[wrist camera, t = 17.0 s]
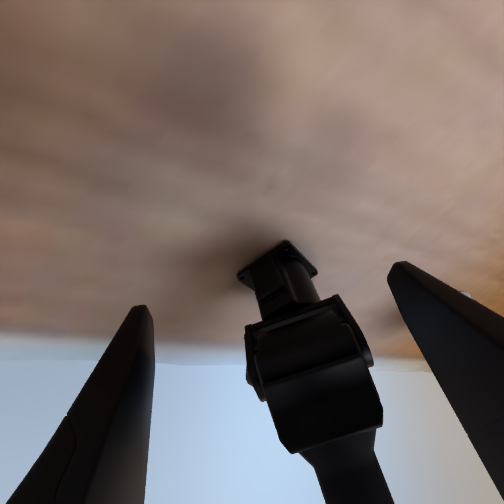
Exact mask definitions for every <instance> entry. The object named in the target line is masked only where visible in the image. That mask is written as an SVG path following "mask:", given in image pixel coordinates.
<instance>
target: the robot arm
mask: <svg viewBox="0 0 504 504" xmlns="http://www.w3.org/2000/svg"><path fill="white" fill-rule="evenodd" d="M286 246H288V247H286ZM317 274H318V272H317V270H316V268H315V267H314V266H313V265H312V264H311V263H310V262H309V261H308V260H307V259H306V258H305V257H304V256H303V255H302V254H301V253H300V252H299V251H298V250H297V249H296V248H295V247H294V246H293V245H292V244H291V243H290V242H289V241H286V242H283V243H282V244H280V245H279V246H277V247H276V248H275V249H273V250H272V251H270V252H269V253H267V254H266V255H264V256H263V257H261V258H260V259H258V260H257V261H255V262H254V263H252V264H251V265H249V266H248V267H246V268H245V269H243V270H242V271H240V272H239V273H238V274H237V278H238V280H239V281H240V282H242V283H243V284H245V285H246V286H248V287H249V288H251V289H252V290H253V291H255V295H256V299H257V302H258V306H259V310H260V314H261V317H262V321H261V322H258V323H255V324H252V325H251V324H249V325H246V326H245V334H244V339H245V350H246V361H247V366H246V380H247V383H248V384H249V385H251V386H253V387H254V390H255V391H256V393H257V395H258V398H259V399H260V401H262V402H264V401H267V404H268V407H269V410H270V413H271V416H272V419H273V422H274V425H275V428H276V430H277V433H278V437H279V440H280V442H281V443H282V444H283V445H284V447H285V448H286V449H287V450H288V451H289V453H291V454H294V453H299V454H300V455H301V456H302V457H303V458H304V459H305V460H306V461H308V462H309V463H310V464H311V465H312V466H313V468H314V469H315V472H316V475H317V478H318V481H319V484H320V487H321V490H322V493H323V496H324V499H325V503H326V504H394V501H393V499H392V497H391V493H390V491H389V488H388V486H387V483H386V481H385V478H384V475H383V473H382V470H381V468H380V465H379V463H378V460H377V458H376V455H375V452H374V441H375V435H376V428H379V427H382V425H383V407H382V404H381V402H380V398H379V395H378V392H377V390H376V387H375V385H374V382H373V380H372V377H371V374H370V372H369V369H368V368H369V367H372V366H373V365H374V362H373V358H372V354H371V351H370V349H369V346H368V344H367V341H366V339H365V337H364V335H363V333H362V331H361V329H360V327H359V326H358V324H357V323H356V321H355V319H354V318H353V316H352V315H351V313H350V312H349V310H348V309H347V307H346V306H345V304H344V303H343V301H342V299H341V298H340V296H339V295H338V294H336V295H333V296H332V297H330V298H327V299H324V300H322V301H321V300H320V298H319V296H318V294H317V291H316V289H315V287H314V285H313V283H312V280H311V278H312V277H314V276H316V275H317ZM387 282H388V285H389V287H390V289H391V292H392V294H393V296H394V299H395V301H396V304H397V306H398V308H399V311H400V313H401V315H402V317H403V319H404V321H405V323H406V325H407V327H408V329H409V330H410V332H411V334H412V336H413V338H414V339H415V341H416V343H417V345H418V347H419V348H420V350H421V352H422V354H423V356H424V357H425V359H426V361H427V363H428V365H429V367H430V368H431V370H432V372H433V374H434V376H435V377H436V379H437V381H438V383H439V384H440V386H441V388H442V390H443V392H444V394H445V395H446V397H447V399H448V401H449V403H450V404H451V406H452V408H453V410H454V411H455V413H456V415H457V417H458V419H459V421H460V422H461V424H462V426H463V428H464V430H465V431H466V433H467V434H468V437H469V439H470V441H471V443H472V444H473V446H474V448H475V450H476V451H477V453H478V455H479V457H480V459H481V461H482V462H483V464H484V466H485V468H486V470H487V471H488V473H489V475H490V477H491V479H492V480H493V482H494V484H495V486H496V488H497V489H498V491H499V493H500V495H501V497H502V499H503V500H504V317H502V316H500V315H499V314H497V313H495V312H494V311H492V310H490V309H488V308H487V307H485V306H483V305H481V304H480V303H478V302H476V301H475V300H473V299H471V298H469V297H468V296H466V295H464V294H462V293H461V292H459V291H457V290H456V289H454V288H452V287H450V286H449V285H447V284H445V283H443V282H442V281H440V280H438V279H437V278H435V277H433V276H431V275H430V274H428V273H426V272H424V271H423V270H421V269H419V268H418V267H416V266H414V265H412V264H411V263H409V262H407V261H401V262H396V263H394V264H393V266H392V268H391V270H390V272H389V274H388V276H387ZM154 376H155V349H154V324H153V319H152V316H151V314H150V312H149V310H148V308H147V306H146V305H138V306H134V307H132V308H131V310H130V311H129V313H128V315H127V316H126V318H125V320H124V321H123V323H122V324H121V326H120V328H119V329H118V331H117V333H116V334H115V336H114V337H113V339H112V341H111V342H110V344H109V346H108V347H107V349H106V351H105V352H104V354H103V355H102V357H101V359H100V360H99V362H98V364H97V365H96V367H95V369H94V370H93V372H92V373H91V375H90V377H89V378H88V380H87V382H86V383H85V385H84V386H83V388H82V390H81V391H80V393H79V395H78V396H77V398H76V399H75V401H74V403H73V404H72V406H71V408H70V409H69V411H68V412H67V416H65V417H64V419H63V420H62V422H61V424H60V425H59V427H58V429H57V430H56V432H55V433H54V435H53V436H52V438H51V440H50V441H49V443H48V444H47V446H46V447H45V449H44V451H43V452H42V453H41V455H40V456H39V458H38V459H37V461H36V462H35V463H34V465H33V466H32V468H31V469H30V471H29V472H28V474H27V475H26V476H25V478H24V479H23V481H22V482H21V483H20V485H19V486H18V487H17V489H16V490H15V491H14V493H13V494H12V496H11V497H10V498H9V500H8V501H7V503H6V504H144V499H145V486H146V474H147V462H148V449H149V437H150V425H151V413H152V400H153V387H154Z"/></svg>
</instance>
